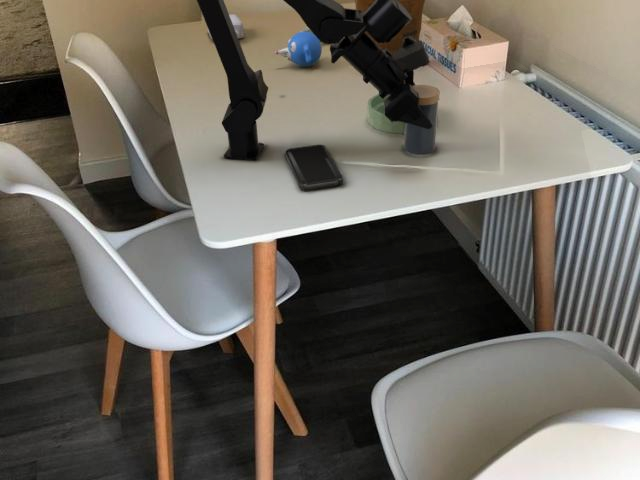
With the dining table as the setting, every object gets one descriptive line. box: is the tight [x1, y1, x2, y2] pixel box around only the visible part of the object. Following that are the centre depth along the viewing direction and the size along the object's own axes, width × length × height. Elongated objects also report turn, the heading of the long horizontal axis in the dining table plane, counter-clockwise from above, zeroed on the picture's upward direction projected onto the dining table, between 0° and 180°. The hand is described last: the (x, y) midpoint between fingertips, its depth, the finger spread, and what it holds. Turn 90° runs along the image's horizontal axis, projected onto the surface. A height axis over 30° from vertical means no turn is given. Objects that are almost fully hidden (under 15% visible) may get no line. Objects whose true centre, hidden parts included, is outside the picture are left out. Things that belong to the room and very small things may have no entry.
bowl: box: [366, 93, 405, 135], centre depth 139 cm, size 14×14×4 cm
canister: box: [403, 84, 441, 156], centre depth 126 cm, size 6×6×12 cm
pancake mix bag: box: [354, 0, 426, 54], centre depth 161 cm, size 7×19×28 cm, turn 102°
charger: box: [206, 13, 245, 40], centre depth 190 cm, size 5×9×15 cm
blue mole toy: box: [274, 31, 323, 68], centre depth 168 cm, size 12×12×8 cm
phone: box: [285, 144, 344, 192], centre depth 124 cm, size 8×1×15 cm
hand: (428, 117), depth 125 cm, fingers open, 9 cm apart
